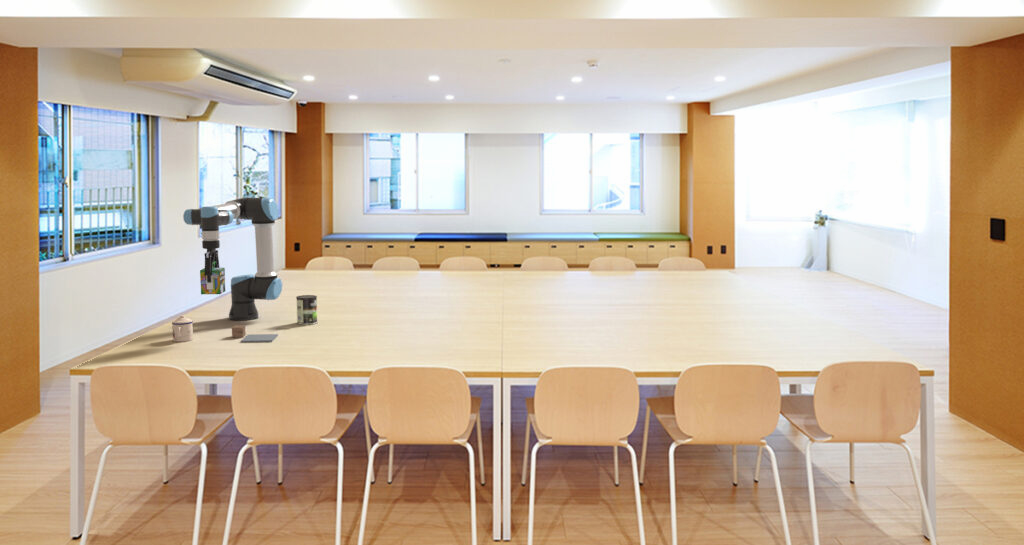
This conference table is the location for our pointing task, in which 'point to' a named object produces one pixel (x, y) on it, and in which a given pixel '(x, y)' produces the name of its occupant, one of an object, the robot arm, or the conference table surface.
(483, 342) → the conference table surface
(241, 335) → the walnut block
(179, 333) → the teacup with lid
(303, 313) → the coffee can
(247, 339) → the slate mat
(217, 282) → the chalk box
